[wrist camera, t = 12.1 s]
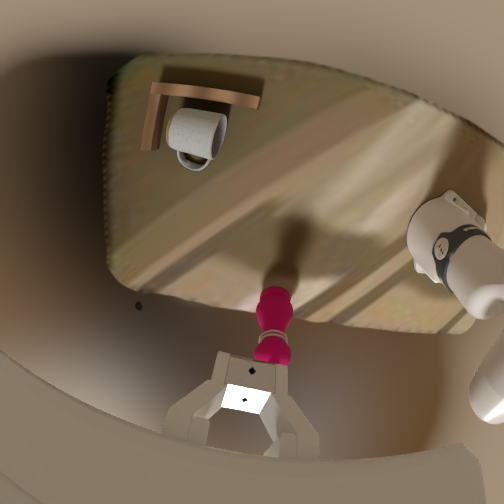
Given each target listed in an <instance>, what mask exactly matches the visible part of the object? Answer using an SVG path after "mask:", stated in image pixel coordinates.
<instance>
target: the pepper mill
mask: <svg viewBox="0 0 504 504" xmlns="http://www.w3.org/2000/svg"><path fill="white" fill-rule="evenodd" d="M256 316H257V320H258V322H259V324H260V326H261V328H262V331H263V333H262V334H261V335H260V337H259V344H258V345H257V347H256V349H255V354H254V356H255V360H260V361H265V362H270V363H275V364H281V365H286V366H287V365H288V363H289V361H290V358H291V351H290V348H289V346H288V338H287V336H286V334H285V329H286V327H287V326H288V325H289V323H290V321H291V319H292V316H293V307H292V305H291V303H290V296H289V294H288V292H287V291H286V290H284V289H283V288H280V287H270V288H268V289H266V290H264V291H263V292H262V294H261V296H260V302H259V303H258V305H257V308H256Z"/></svg>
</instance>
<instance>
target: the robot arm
mask: <svg viewBox="0 0 504 504" xmlns="http://www.w3.org/2000/svg"><path fill="white" fill-rule="evenodd" d="M454 198H455V200H454ZM486 228H487V225H486V222H485V220H484V219H483V218H482V217H481V216H480V215H478V214H477V213H476V212H475V211H474V210H473V209H472V208H471V207H470V206H469V205H468V204H467V203H466V202H465V201H464V200H463V199H462V198H461V197H459V196H458V195H457V194H456V193H455V192H454V191H453V190H448V191H446V192H445V193H444V194H443V195H442V196H441V197H439V198H436V199H432V200H430V201H428V202H426V203H425V204H423V205H422V206H421V207H420V208H419V209H418V210H417V211H416V213H415V214H414V216H413V217H412V219H411V222H410V224H409V227H408V232H407V245H408V248H409V251H410V253H411V255H412V256H413V259H414V268H415V270H416V271H417V272H418V273H426V274H427V275H428V276H429V277H430V278H431V279H432V280H433V281H434V282H435V283H437V282H439V283H442V284H443V285H444V286H445V287H446V288H447V289H448V290H449V291H450V292H452V293H453V294H455V295H456V297H457V298H458V299H459V301H460V302H461V303H462V305H463V306H464V307H465V309H466V310H467V311H468V313H469V314H470V315H472V316H473V317H475V318H478V319H490V318H493V317H495V316H497V315H499V314H501V313H502V312H504V250H503V249H502V248H500V247H499V246H497V245H496V244H495V243H493V242H492V241H491V238H490V235H489V234H488V233H487V232H486ZM287 372H288V368H287V366H286V365H281V364H275V363H270V362H265V361H260V360H255V359H248V358H244V357H240V356H236V355H233V354H228V353H224V352H221V351H219V352H218V354H217V359H216V362H215V366H214V370H213V374H212V379H211V381H210V380H207V381H206V382H204V383H203V384H202V385H200V386H199V387H198V388H196V389H195V390H193V391H192V392H191V393H190V394H188V395H187V396H185V397H184V398H182V399H181V400H180V401H178V402H177V403H175V404H174V405H173V406H171V407H170V408H169V411H168V414H167V417H166V420H165V422H164V425H163V428H162V431H161V433H158V432H155V431H152V430H149V429H146V428H143V427H141V426H138V425H135V424H132V423H130V422H127V421H125V420H122V419H120V418H117V417H115V416H113V415H110V414H108V413H106V412H104V411H101V410H99V409H97V408H95V407H92V406H90V405H89V404H86V403H84V402H82V401H80V400H78V399H77V398H75V397H73V396H71V395H69V394H67V393H65V392H63V391H62V390H60V389H58V388H56V387H55V386H53V385H51V384H49V383H48V382H46V381H45V380H43V379H41V378H40V377H38V376H37V375H35V374H34V373H32V372H30V371H29V370H27V369H26V368H24V367H23V366H22V365H20V364H19V363H17V362H16V361H15V360H13V359H12V358H10V357H9V356H8V355H7V354H5V353H4V352H2V351H1V350H0V504H486V497H485V489H484V482H483V476H482V471H481V466H480V463H479V460H478V458H477V456H476V455H475V454H474V453H473V452H472V451H471V450H470V449H469V448H468V447H467V446H466V445H464V444H463V443H457V444H453V445H449V446H445V447H441V448H436V449H432V450H427V451H422V452H416V453H410V454H404V455H397V456H389V457H380V458H368V459H351V460H320V456H319V435H318V433H317V432H316V431H315V429H314V428H313V427H312V425H311V424H310V422H309V421H308V420H307V418H306V417H305V415H304V414H303V413H302V412H301V410H300V409H299V407H298V406H297V404H296V403H295V401H294V400H293V399H292V397H291V396H288V373H287ZM469 399H470V403H471V406H472V408H473V410H474V412H475V414H476V415H477V416H478V417H479V418H480V419H481V420H483V421H485V422H487V423H490V424H500V423H503V422H504V330H503V332H502V333H501V334H500V336H499V337H498V339H497V340H496V342H495V343H494V345H493V346H492V347H491V349H490V350H489V352H488V353H487V354H486V356H485V357H484V359H483V361H482V363H481V365H480V366H479V368H478V370H477V372H476V374H475V376H474V378H473V379H472V381H471V383H470V386H469ZM221 406H222V407H227V408H232V409H238V410H243V411H247V412H252V413H258V414H259V415H260V417H261V419H262V421H263V423H264V425H265V427H266V429H267V431H268V433H269V435H270V437H271V439H272V441H273V444H272V445H271V446H270V447H269V449H268V450H267V451H266V452H265V453H264V456H261V455H253V454H246V453H240V452H234V451H229V450H224V449H219V448H213V447H209V446H205V443H206V439H207V434H208V429H209V424H210V422H209V421H208V419H209V418H210V417H211V416H212V415H214V414H215V413H216V412H217V411H218V410H219V409H220V408H221Z"/></svg>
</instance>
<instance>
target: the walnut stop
mask: <svg viewBox="0 0 504 504" xmlns="http://www.w3.org/2000/svg"><path fill="white" fill-rule="evenodd" d="M168 96H177V97H186V98H194V99H201V100H208V101H215V102H221V103H227V104H232V105H237V106H243V107H248V108H252V109H257V110H258V109H259V105H260V102H261V98H260V97H259V96H254V95H249V94H244V93H239V92H233V91H227V90H221V89H214V88H207V87H200V86H191V85H182V84H170V83H156V82H153V83H152V87H151V92H150V97H149V102H148V107H147V112H146V118H145V124H144V130H143V136H142V143H141V150H146V151H153V150H156V149H159V144H160V138H161V132H162V127H163V121H164V116H165V111H166V106H167V101H168Z"/></svg>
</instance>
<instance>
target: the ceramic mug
mask: <svg viewBox="0 0 504 504" xmlns="http://www.w3.org/2000/svg"><path fill="white" fill-rule="evenodd" d="M226 126H227V118H226V115H224V114H221V113H215V112H210V111H203V110H197V109H191V108H181V109H178V110H176V111H175V112H174V113H173V114H172V116H171V118H170V120H169V122H168V125H167V129H166V141H167V143H168V145H169V147H171V148H173V149H175V150H177V156H178V159H179V161H180V162H181V164H182V165H183V166H185V167H186V168H188V169H191V170H195V171H198V170H202V169H203V168H205V167H206V166H207V165H208V163H209V162H210V160H214V159H215V158H216V156H217V155H218V153H219V151H220V149H221V146H222V143H223V140H224V137H225V132H226ZM183 152H185V153H189V154H193V155H196V156H200V157H203V158H206V159H208V160H207V162H206V163H205V164H203V165H199V164H196V163H193V162H190V161H188V160H186V159H185V157H184V155H183Z"/></svg>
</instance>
